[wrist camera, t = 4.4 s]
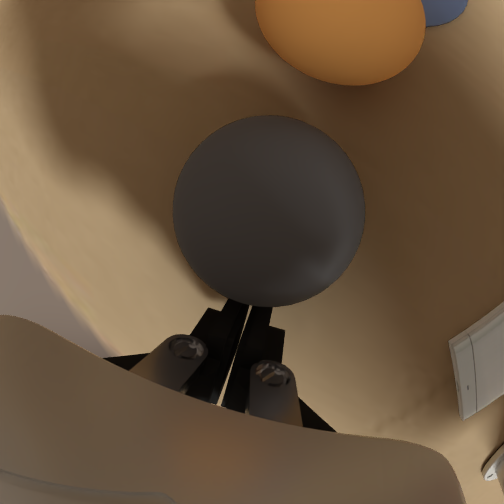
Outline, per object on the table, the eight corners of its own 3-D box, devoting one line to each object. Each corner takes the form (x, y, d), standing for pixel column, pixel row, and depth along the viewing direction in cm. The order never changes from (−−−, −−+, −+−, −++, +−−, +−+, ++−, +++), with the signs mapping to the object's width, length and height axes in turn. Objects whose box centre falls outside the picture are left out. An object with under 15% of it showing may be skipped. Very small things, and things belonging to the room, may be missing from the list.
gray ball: (332, 302, 12) (362, 164, 11) (348, 362, 6) (401, 104, 5) (200, 269, 13) (228, 140, 12) (116, 292, 7) (166, 76, 6)
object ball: (403, 22, 8) (448, -44, 3) (384, 122, 10) (452, 84, 4) (283, -13, 9) (269, -94, 3) (250, 82, 11) (209, 13, 5)
